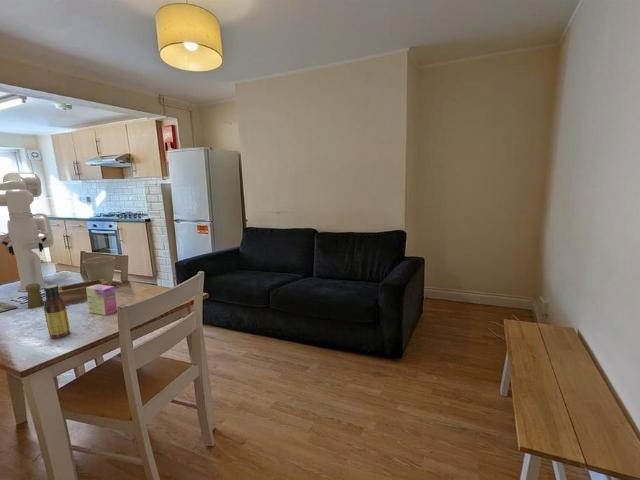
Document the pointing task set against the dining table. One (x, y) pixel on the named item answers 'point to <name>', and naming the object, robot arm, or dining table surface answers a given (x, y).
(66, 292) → the walnut well caddy
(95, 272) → the plant pot
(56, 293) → the sauce bottle
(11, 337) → the dining table surface
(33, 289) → the olive brown gourd shape
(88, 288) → the box
